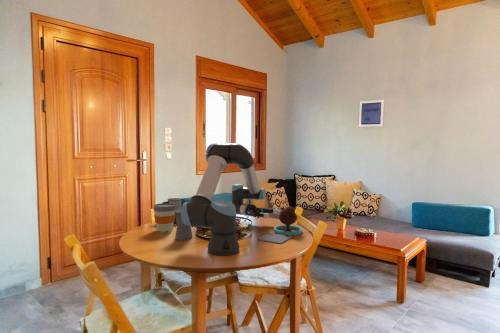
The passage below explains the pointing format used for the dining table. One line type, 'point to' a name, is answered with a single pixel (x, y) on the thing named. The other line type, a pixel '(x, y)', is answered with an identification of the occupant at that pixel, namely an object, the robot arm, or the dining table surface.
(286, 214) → the ice cream bowl
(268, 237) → the mat
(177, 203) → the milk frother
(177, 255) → the dining table surface
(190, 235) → the coffeepot
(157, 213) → the reusable coffee cup
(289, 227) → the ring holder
